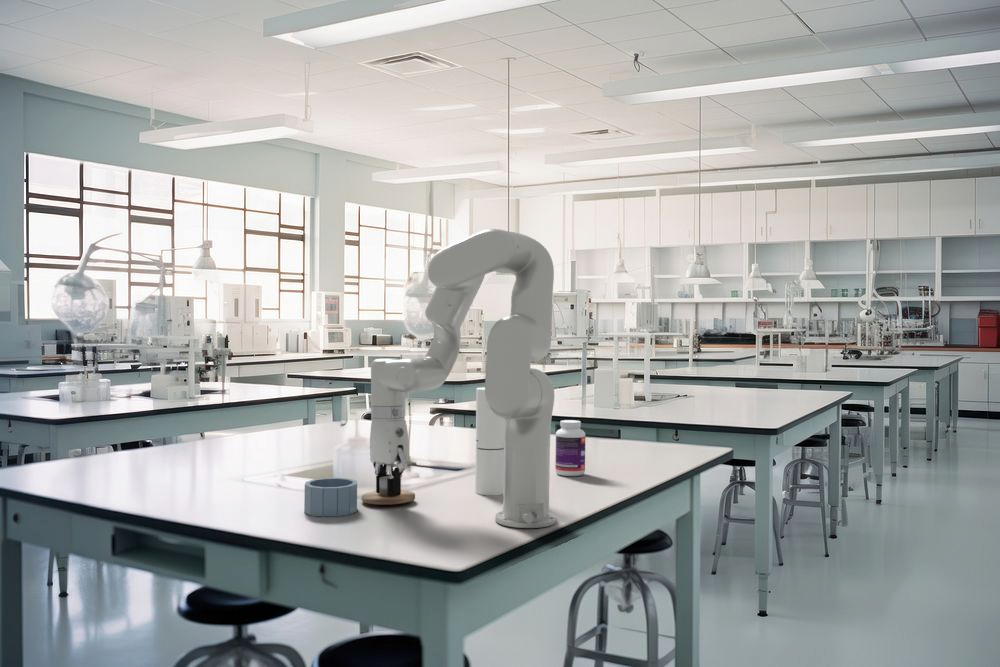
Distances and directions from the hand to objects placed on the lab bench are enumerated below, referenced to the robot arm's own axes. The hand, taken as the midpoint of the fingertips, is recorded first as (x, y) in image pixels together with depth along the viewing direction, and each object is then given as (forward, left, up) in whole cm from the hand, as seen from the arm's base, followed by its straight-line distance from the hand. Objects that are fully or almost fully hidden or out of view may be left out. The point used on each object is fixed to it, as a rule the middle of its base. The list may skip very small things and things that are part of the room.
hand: (388, 493), depth 185 cm
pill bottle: (+28, -50, -2) cm, 57 cm away
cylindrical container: (+8, -25, -2) cm, 26 cm away
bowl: (-7, +12, -2) cm, 14 cm away
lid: (0, 0, -1) cm, 1 cm away
